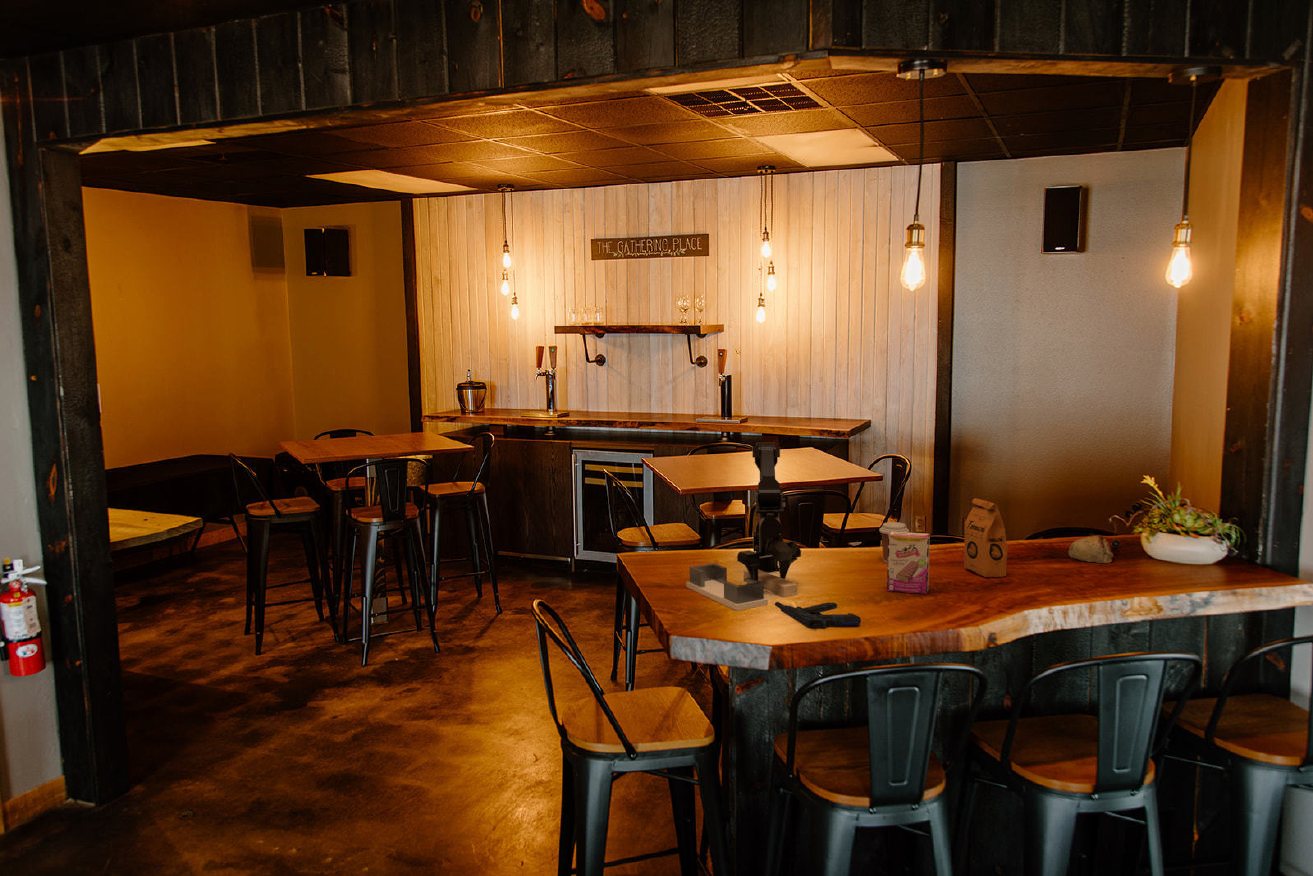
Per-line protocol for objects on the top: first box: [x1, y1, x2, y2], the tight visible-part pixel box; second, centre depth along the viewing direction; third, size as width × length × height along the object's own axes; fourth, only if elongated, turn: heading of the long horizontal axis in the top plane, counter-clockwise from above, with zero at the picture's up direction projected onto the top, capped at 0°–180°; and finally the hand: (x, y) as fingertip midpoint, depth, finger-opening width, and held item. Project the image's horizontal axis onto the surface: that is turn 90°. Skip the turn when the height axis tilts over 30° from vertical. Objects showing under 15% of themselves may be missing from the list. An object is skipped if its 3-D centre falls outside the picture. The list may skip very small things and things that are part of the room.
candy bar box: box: [886, 531, 931, 595], centre depth 245 cm, size 11×5×16 cm, turn 71°
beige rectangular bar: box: [743, 569, 798, 599], centre depth 252 cm, size 20×4×4 cm, turn 28°
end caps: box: [689, 562, 765, 604], centre depth 244 cm, size 25×9×4 cm, turn 28°
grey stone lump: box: [1068, 534, 1114, 564], centre depth 277 cm, size 14×12×8 cm
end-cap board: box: [685, 580, 769, 612], centre depth 245 cm, size 26×10×2 cm, turn 28°
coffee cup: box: [878, 521, 910, 564], centre depth 278 cm, size 9×9×12 cm
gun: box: [774, 601, 862, 630], centre depth 226 cm, size 24×3×15 cm
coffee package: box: [963, 497, 1008, 578], centre depth 262 cm, size 10×12×22 cm
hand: (769, 583), depth 252 cm, fingers open, 9 cm apart
